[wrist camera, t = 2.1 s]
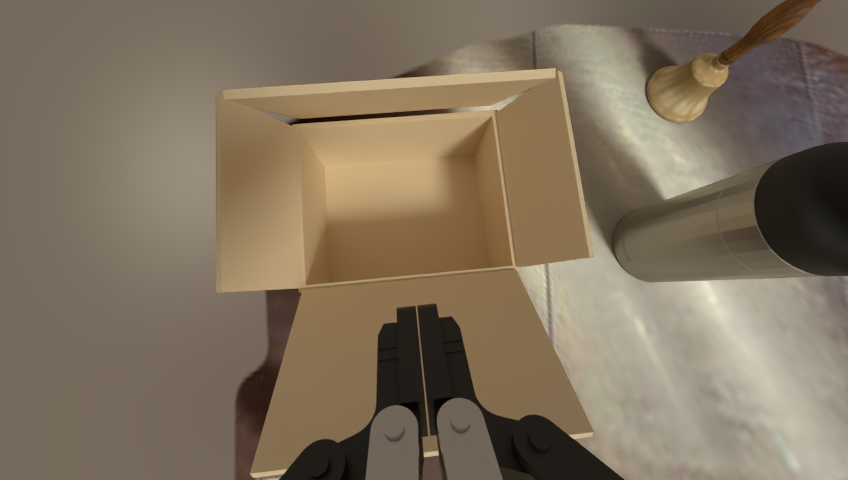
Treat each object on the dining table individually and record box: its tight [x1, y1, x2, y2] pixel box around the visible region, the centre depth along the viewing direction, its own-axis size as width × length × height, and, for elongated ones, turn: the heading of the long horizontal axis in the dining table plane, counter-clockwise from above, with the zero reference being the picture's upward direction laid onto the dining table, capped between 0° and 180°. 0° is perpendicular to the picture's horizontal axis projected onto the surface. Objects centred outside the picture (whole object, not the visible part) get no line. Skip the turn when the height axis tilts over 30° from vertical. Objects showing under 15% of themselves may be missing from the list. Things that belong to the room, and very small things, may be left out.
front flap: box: [222, 68, 556, 119], centre depth 25 cm, size 18×14×1 cm
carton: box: [216, 70, 594, 478], centre depth 30 cm, size 28×26×20 cm
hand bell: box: [647, 0, 821, 123], centre depth 37 cm, size 8×8×16 cm
